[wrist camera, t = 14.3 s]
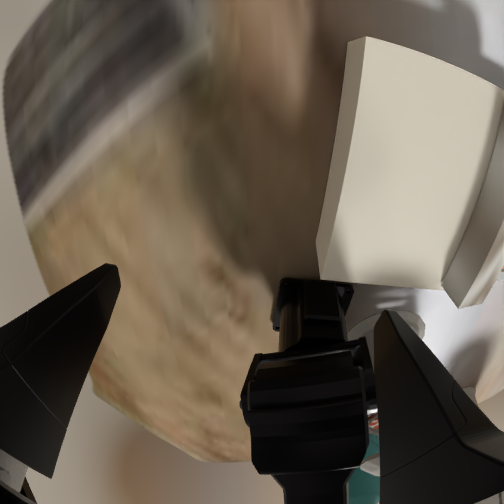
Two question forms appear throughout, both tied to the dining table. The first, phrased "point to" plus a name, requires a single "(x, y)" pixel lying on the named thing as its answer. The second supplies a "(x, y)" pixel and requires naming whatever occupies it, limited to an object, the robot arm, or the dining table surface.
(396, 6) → the dining table surface
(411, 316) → the french press
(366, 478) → the beverage bottle
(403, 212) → the cream riser block
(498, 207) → the scraper
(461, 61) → the dining table surface
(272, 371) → the robot arm
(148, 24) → the dining table surface
